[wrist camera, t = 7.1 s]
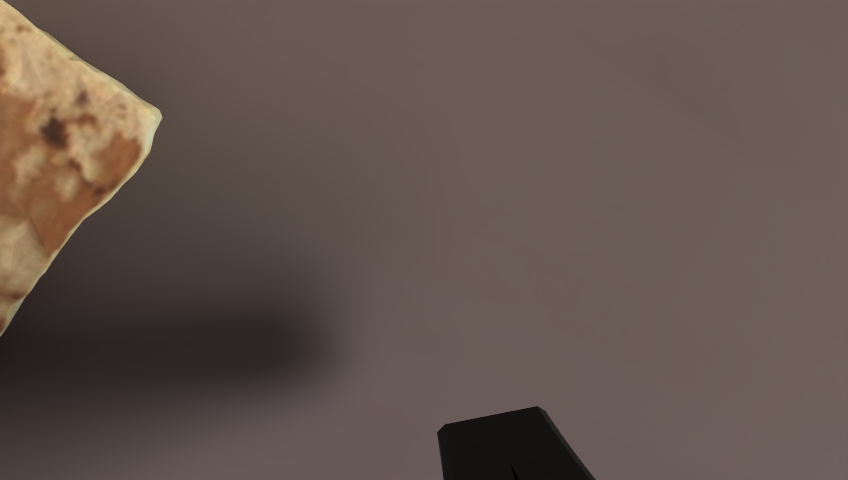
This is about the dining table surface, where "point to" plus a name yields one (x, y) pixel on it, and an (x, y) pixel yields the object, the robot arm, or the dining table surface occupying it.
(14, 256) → the shard
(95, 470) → the dining table surface
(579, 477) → the robot arm
